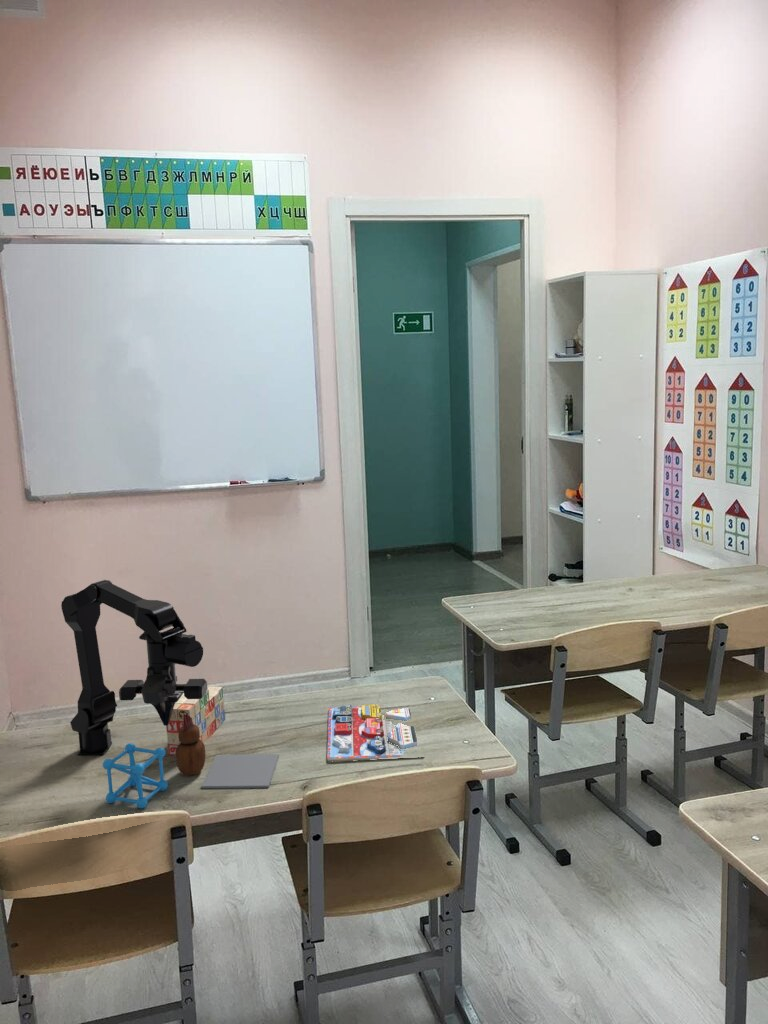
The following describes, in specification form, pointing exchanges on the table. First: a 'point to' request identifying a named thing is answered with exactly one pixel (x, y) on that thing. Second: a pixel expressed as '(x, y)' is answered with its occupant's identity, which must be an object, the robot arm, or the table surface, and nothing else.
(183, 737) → the wooden figurine
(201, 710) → the stack of blocks
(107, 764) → the molecular structure
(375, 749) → the puzzle board
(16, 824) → the table surface
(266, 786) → the felt mat
